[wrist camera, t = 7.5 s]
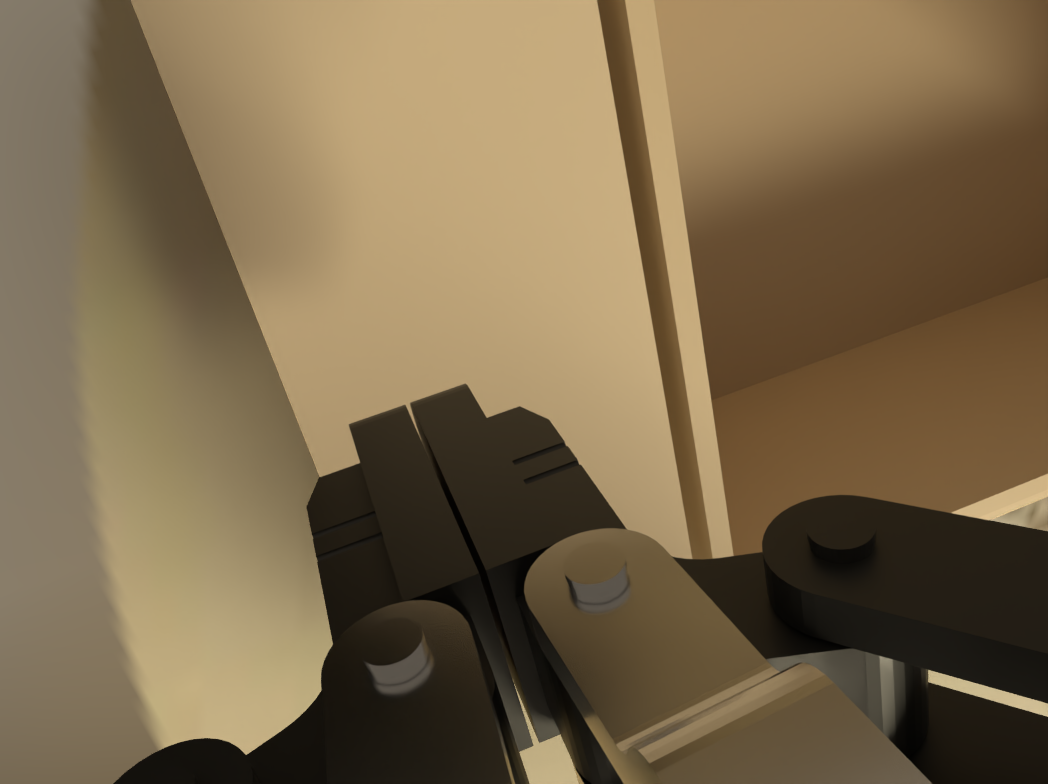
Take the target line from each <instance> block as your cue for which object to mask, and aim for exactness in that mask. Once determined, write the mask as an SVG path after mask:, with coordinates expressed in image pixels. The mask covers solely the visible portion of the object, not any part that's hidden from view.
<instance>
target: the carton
mask: <svg viewBox="0 0 1048 784" xmlns="http://www.w3.org/2000/svg"><path fill="white" fill-rule="evenodd" d="M597 3H598V9H599V15H600V21H601V27H602V32H603V38H604V44H605V50H606V56H607V62H608V68H609V73H610V79H611V85H612V91H613V97H614V103H615V109H616V114H617V120H618V126H619V132H620V138H621V144H622V150H623V155H624V161H625V167H626V173H627V179H628V185H629V191H630V196H631V202H632V208H633V214H634V220H635V226H636V231H637V237H638V243H639V249H640V255H641V261H642V267H643V272H644V278H645V284H646V290H647V296H648V302H649V308H650V313H651V319H652V325H653V331H654V337H655V343H656V349H657V354H658V360H659V366H660V372H661V378H662V384H663V390H664V395H665V401H666V407H667V413H668V419H669V425H670V430H671V436H672V442H673V448H674V454H675V460H676V466H677V471H678V477H679V483H680V489H681V495H682V501H683V507H684V512H685V518H686V524H687V530H688V536H689V542H690V548H691V553H692V559H714V558H723V557H730V556H737V555H744V554H751V553H759V552H762V540H763V535H764V533H765V531H766V529H767V527H768V525H769V524H770V523H771V522H772V520H773V519H774V518H775V517H777V516H778V515H779V514H780V513H781V512H783V511H784V510H786V509H788V508H789V507H791V506H793V505H795V504H798V503H800V502H802V501H806V500H809V499H813V498H817V497H823V496H831V495H855V496H863V497H869V498H874V499H880V500H885V501H890V502H895V503H901V504H906V505H911V506H917V507H922V508H927V509H932V510H938V511H943V512H948V513H953V514H959V515H964V516H969V517H974V518H980V519H985V520H992V519H994V518H997V517H999V516H1002V515H1004V514H1006V513H1009V512H1011V511H1014V510H1016V509H1019V508H1021V507H1024V506H1026V505H1029V504H1031V503H1033V502H1036V501H1038V500H1041V499H1043V498H1046V497H1048V0H597Z"/></svg>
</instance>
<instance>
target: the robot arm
mask: <svg viewBox="0 0 1048 784" xmlns="http://www.w3.org/2000/svg"><path fill="white" fill-rule="evenodd" d="M410 406H411V410H412V413H413V417H414V420H415V423H416V426H417V429H418V432H419V434H418V432H417V430H416V428H415V425H414V423H413V421H412V418H411V416H410V414H409V412H408V409H407V407H406V405H402V406H399V407H397V408H394V409H391V410H388V411H385V412H382V413H379V414H376V415H374V416H371V417H368V418H365V419H362V420H359V421H356V422H353V423H350V424H349V428H350V431H351V434H352V438H353V441H354V444H355V447H356V451H357V454H358V457H359V460H360V463H359V464H356V465H353V466H350V467H347V468H344V469H342V470H339V471H336V472H333V473H330V474H328V475H325V476H322V477H319V479H318V482H317V484H316V486H315V489H314V491H313V493H312V495H311V498H310V500H309V502H308V505H307V511H308V516H309V522H310V527H311V532H312V535H313V542H314V548H315V553H316V557H317V560H318V562H317V563H318V568H319V573H320V579H321V584H322V589H323V594H324V599H325V604H326V610H327V615H328V620H329V625H330V630H331V635H332V641H333V646H332V647H331V649H330V650H329V652H328V654H327V656H326V658H325V660H324V664H323V667H322V672H321V688H322V691H321V692H320V694H319V695H318V697H317V698H316V700H315V701H314V702H313V703H312V704H311V705H310V707H309V708H308V709H307V710H306V711H305V712H304V713H303V714H302V715H301V716H300V717H299V718H297V719H296V720H295V721H294V722H293V723H291V724H290V725H289V726H288V727H286V728H285V729H284V730H282V731H281V732H279V733H278V734H276V735H275V736H274V737H272V738H271V739H269V740H268V741H266V742H265V743H263V744H262V745H260V746H259V747H258V748H256V749H255V750H253V751H252V752H250V753H249V754H247V755H245V754H244V753H243V752H242V751H241V750H240V749H239V748H238V747H236V746H235V745H233V744H231V743H229V742H226V741H223V740H219V739H210V738H204V739H193V740H188V741H184V742H180V743H177V744H174V745H171V746H168V747H166V748H164V749H162V750H160V751H157V752H155V753H153V754H151V755H150V756H148V757H147V758H145V759H143V760H142V761H140V762H139V763H137V764H136V765H135V766H133V767H132V768H131V769H129V770H128V771H127V772H126V773H124V774H123V775H122V776H121V777H120V778H119V779H118V780H117V781H116V782H115V783H114V784H529V781H528V778H527V775H526V772H525V769H524V766H523V762H522V759H521V756H520V753H519V752H520V751H522V750H525V749H527V748H529V747H532V746H533V743H532V740H531V736H530V733H529V730H528V727H527V724H526V721H525V717H524V714H523V711H522V708H521V705H520V702H519V698H518V695H517V692H516V689H515V686H516V688H517V691H518V693H519V695H520V698H521V700H522V703H523V705H524V707H525V710H526V712H527V715H528V717H529V719H530V722H531V724H532V726H533V729H534V731H535V734H536V736H537V738H538V741H539V743H540V742H543V741H545V740H548V739H550V738H552V737H555V736H557V735H560V734H561V737H562V739H563V741H564V743H565V745H566V748H567V750H568V752H569V754H570V757H571V759H572V762H573V765H574V769H575V772H576V775H577V779H578V782H579V784H1048V717H1046V716H1043V715H1039V714H1036V713H1032V712H1029V711H1025V710H1022V709H1019V708H1015V707H1012V706H1008V705H1005V704H1001V703H998V702H994V701H991V700H987V699H984V698H981V697H977V696H974V695H970V694H967V693H963V692H960V691H956V690H953V689H949V688H946V687H943V686H939V685H936V684H932V683H929V682H928V670H931V671H935V672H939V673H942V674H946V675H949V676H953V677H956V678H960V679H963V680H967V681H970V682H974V683H978V684H981V685H985V686H988V687H992V688H995V689H999V690H1002V691H1006V692H1009V693H1013V694H1017V695H1020V696H1024V697H1027V698H1031V699H1034V700H1038V701H1041V702H1045V703H1048V531H1043V530H1037V529H1032V528H1027V527H1022V526H1016V525H1011V524H1006V523H1001V522H995V521H990V520H985V519H980V518H974V517H969V516H964V515H959V514H953V513H948V512H943V511H938V510H932V509H927V508H922V507H917V506H911V505H906V504H901V503H895V502H890V501H885V500H880V499H874V498H869V497H863V496H855V495H831V496H823V497H817V498H813V499H809V500H806V501H802V502H800V503H798V504H795V505H793V506H791V507H789V508H788V509H786V510H784V511H783V512H781V513H780V514H779V515H778V516H777V517H775V518H774V519H773V520H772V522H771V523H770V524H769V525H768V527H767V529H766V531H765V533H764V535H763V540H762V552H759V553H751V554H744V555H737V556H730V557H723V558H714V559H685V558H676V557H672V556H671V555H670V554H669V553H668V552H667V551H666V550H665V549H664V547H663V546H661V545H660V544H659V543H658V542H657V541H656V540H654V539H652V538H650V537H649V536H647V535H644V534H642V533H639V532H636V531H631V530H627V529H626V527H625V526H624V524H623V523H622V522H621V520H620V519H619V517H618V516H617V515H616V513H615V512H614V510H613V509H612V507H611V506H610V505H609V503H608V502H607V500H606V499H605V498H604V496H603V495H602V493H601V492H600V491H599V489H598V488H597V486H596V485H595V484H594V482H593V481H592V479H591V478H590V476H589V475H588V474H587V472H586V471H585V469H584V468H583V467H582V465H579V463H578V460H577V458H576V457H575V455H574V454H573V452H572V451H571V450H570V448H569V447H568V446H566V444H565V441H564V440H563V438H562V437H561V436H560V434H559V433H558V431H557V430H556V429H555V427H554V426H553V424H552V423H551V421H550V420H549V419H547V418H545V417H542V416H540V415H538V414H536V413H534V412H531V411H529V410H527V409H525V408H523V407H520V406H519V407H516V408H513V409H510V410H507V411H505V412H502V413H499V414H496V415H493V416H491V417H488V418H487V417H486V416H485V414H484V412H483V411H482V409H481V407H480V406H479V404H478V402H477V400H476V399H475V397H474V395H473V394H472V392H471V390H470V388H469V387H468V385H467V384H462V385H459V386H456V387H454V388H451V389H448V390H445V391H442V392H439V393H436V394H433V395H431V396H428V397H425V398H422V399H419V400H416V401H413V402H410ZM419 435H420V437H419ZM420 438H421V439H420ZM513 681H514V683H513ZM514 684H515V686H514Z"/></svg>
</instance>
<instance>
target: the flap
mask: <svg viewBox="0 0 1048 784" xmlns="http://www.w3.org/2000/svg"><path fill="white" fill-rule="evenodd" d="M131 3H132V5H133V8H134V10H135V13H136V15H137V18H138V20H139V23H140V25H141V28H142V30H143V33H144V36H145V38H146V41H147V43H148V46H149V48H150V51H151V53H152V56H153V58H154V61H155V63H156V66H157V68H158V71H159V73H160V76H161V78H162V81H163V83H164V86H165V89H166V91H167V94H168V96H169V99H170V101H171V104H172V106H173V109H174V111H175V114H176V116H177V119H178V121H179V124H180V126H181V129H182V131H183V134H184V136H185V139H186V141H187V144H188V147H189V149H190V152H191V154H192V157H193V159H194V162H195V164H196V167H197V169H198V172H199V174H200V177H201V179H202V182H203V184H204V187H205V189H206V192H207V194H208V197H209V199H210V202H211V205H212V207H213V210H214V212H215V215H216V217H217V220H218V222H219V225H220V227H221V230H222V232H223V235H224V237H225V240H226V242H227V245H228V247H229V250H230V252H231V255H232V258H233V260H234V263H235V265H236V268H237V270H238V273H239V275H240V278H241V280H242V283H243V285H244V288H245V290H246V293H247V295H248V298H249V300H250V303H251V305H252V308H253V310H254V313H255V316H256V318H257V321H258V323H259V326H260V328H261V331H262V333H263V336H264V338H265V341H266V343H267V346H268V348H269V351H270V353H271V356H272V358H273V361H274V363H275V366H276V369H277V371H278V374H279V376H280V379H281V381H282V384H283V386H284V389H285V391H286V394H287V396H288V399H289V401H290V404H291V406H292V409H293V411H294V414H295V416H296V419H297V421H298V424H299V427H300V429H301V432H302V434H303V437H304V439H305V442H306V444H307V447H308V449H309V452H310V454H311V457H312V459H313V462H314V464H315V467H316V469H317V472H318V474H319V477H322V476H325V475H328V474H330V473H333V472H336V471H339V470H342V469H344V468H347V467H350V466H353V465H356V464H359V463H360V460H359V457H358V454H357V451H356V447H355V444H354V441H353V438H352V434H351V431H350V428H349V424H350V423H353V422H356V421H359V420H362V419H365V418H368V417H371V416H374V415H376V414H379V413H382V412H385V411H388V410H391V409H394V408H397V407H399V406H402V405H406V407H407V409H408V412H409V414H410V416H411V418H412V421H413V423H414V425H415V428H416V430H417V432H418V429H417V426H416V423H415V420H414V417H413V413H412V410H411V406H410V402H413V401H416V400H419V399H422V398H425V397H428V396H431V395H433V394H436V393H439V392H442V391H445V390H448V389H451V388H454V387H456V386H459V385H462V384H467V385H468V387H469V388H470V390H471V392H472V394H473V395H474V397H475V399H476V400H477V402H478V404H479V406H480V407H481V409H482V411H483V412H484V414H485V416H486V417H487V418H488V417H491V416H493V415H496V414H499V413H502V412H505V411H507V410H510V409H513V408H516V407H519V406H520V407H523V408H525V409H527V410H529V411H531V412H534V413H536V414H538V415H540V416H542V417H545V418H547V419H549V420H550V421H551V423H552V424H553V426H554V427H555V429H556V430H557V431H558V433H559V434H560V436H561V437H562V438H563V440H564V441H565V444H566V446H568V447H569V448H570V450H571V451H572V452H573V454H574V455H575V457H576V458H577V460H578V463H579V465H582V467H583V468H584V469H585V471H586V472H587V474H588V475H589V476H590V478H591V479H592V481H593V482H594V484H595V485H596V486H597V488H598V489H599V491H600V492H601V493H602V495H603V496H604V498H605V499H606V500H607V502H608V503H609V505H610V506H611V507H612V509H613V510H614V512H615V513H616V515H617V516H618V517H619V519H620V520H621V522H622V523H623V524H624V526H625V527H626V529H627V530H631V531H636V532H639V533H642V534H644V535H647V536H649V537H650V538H652V539H654V540H656V541H657V542H658V543H659V544H660V545H661V546H663V547H664V549H665V550H666V551H667V552H668V553H669V554H670V555H671V556H672V557H676V558H685V559H692V553H691V548H690V542H689V536H688V530H687V524H686V518H685V512H684V507H683V501H682V495H681V489H680V483H679V477H678V471H677V466H676V460H675V454H674V448H673V442H672V436H671V430H670V425H669V419H668V413H667V407H666V401H665V395H664V390H663V384H662V378H661V372H660V366H659V360H658V354H657V349H656V343H655V337H654V331H653V325H652V319H651V313H650V308H649V302H648V296H647V290H646V284H645V278H644V272H643V267H642V261H641V255H640V249H639V243H638V237H637V231H636V226H635V220H634V214H633V208H632V202H631V196H630V191H629V185H628V179H627V173H626V167H625V161H624V155H623V150H622V144H621V138H620V132H619V126H618V120H617V114H616V109H615V103H614V97H613V91H612V85H611V79H610V73H609V68H608V62H607V56H606V50H605V44H604V38H603V32H602V27H601V21H600V15H599V9H598V3H597V0H131ZM418 434H419V432H418ZM419 437H420V435H419ZM420 439H421V438H420Z"/></svg>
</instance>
